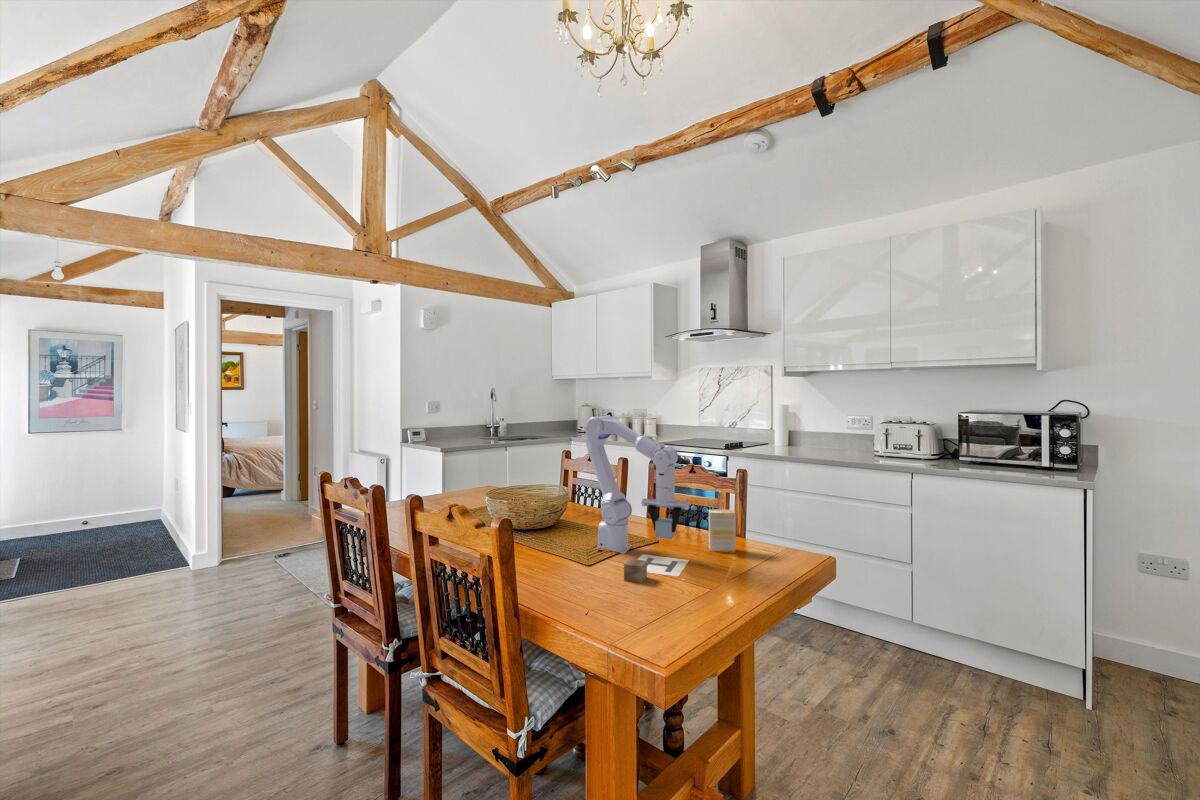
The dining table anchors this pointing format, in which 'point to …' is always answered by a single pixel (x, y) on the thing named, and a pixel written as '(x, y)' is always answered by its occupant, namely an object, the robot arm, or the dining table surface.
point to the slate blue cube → (664, 528)
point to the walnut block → (635, 570)
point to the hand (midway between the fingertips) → (664, 530)
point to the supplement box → (722, 530)
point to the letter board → (664, 565)
